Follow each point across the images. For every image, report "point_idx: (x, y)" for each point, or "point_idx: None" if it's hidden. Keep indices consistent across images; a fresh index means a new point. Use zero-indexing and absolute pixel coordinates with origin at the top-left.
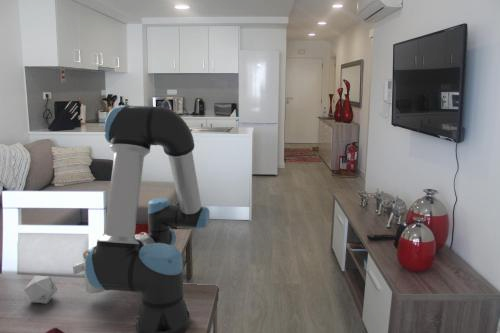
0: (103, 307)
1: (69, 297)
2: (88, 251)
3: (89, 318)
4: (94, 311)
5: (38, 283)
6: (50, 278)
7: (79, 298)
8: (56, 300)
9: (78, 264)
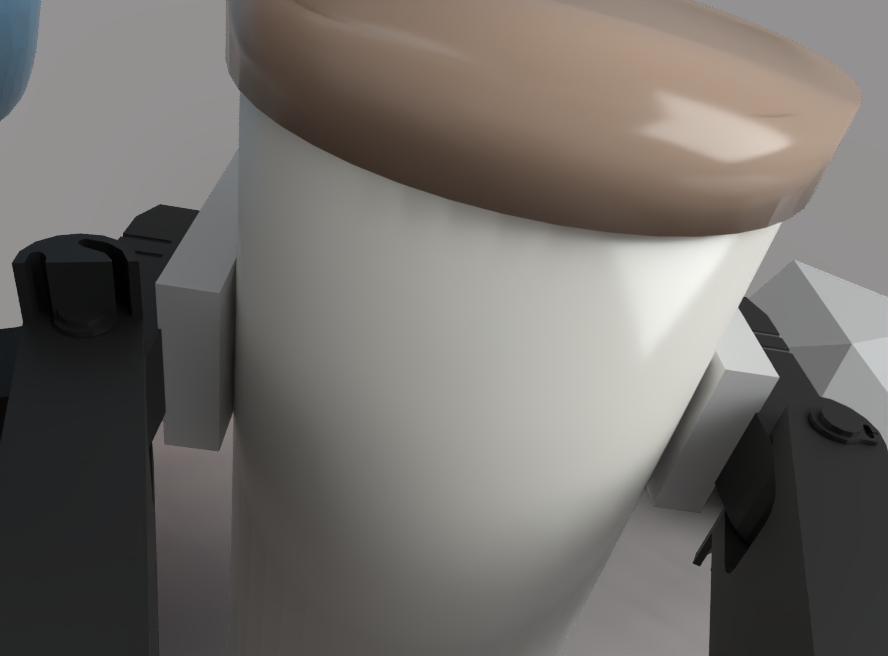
0: (171, 627)
1: (668, 602)
2: (712, 26)
3: (180, 447)
4: (216, 534)
5: (782, 284)
6: (835, 353)
7: (574, 636)
8: (690, 519)
9: None
